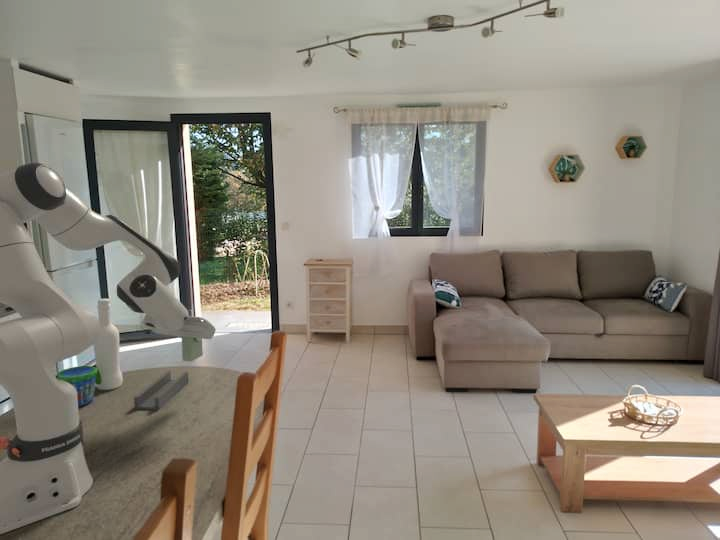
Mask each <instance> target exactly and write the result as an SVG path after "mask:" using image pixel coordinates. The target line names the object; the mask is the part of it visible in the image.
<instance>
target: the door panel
mask: <svg viewBox="0 0 720 540" xmlns="http://www.w3.org/2000/svg"><path fill="white" fill-rule="evenodd" d="M181 352H182V362H183V361H184V362H193V361H195V360H197V359H199V358H201V357H202V356H203V354H204V351H203V339H202V340H201V342H196V341H195V340H194V338H193V337H184V336H182V338H181Z"/></svg>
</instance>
